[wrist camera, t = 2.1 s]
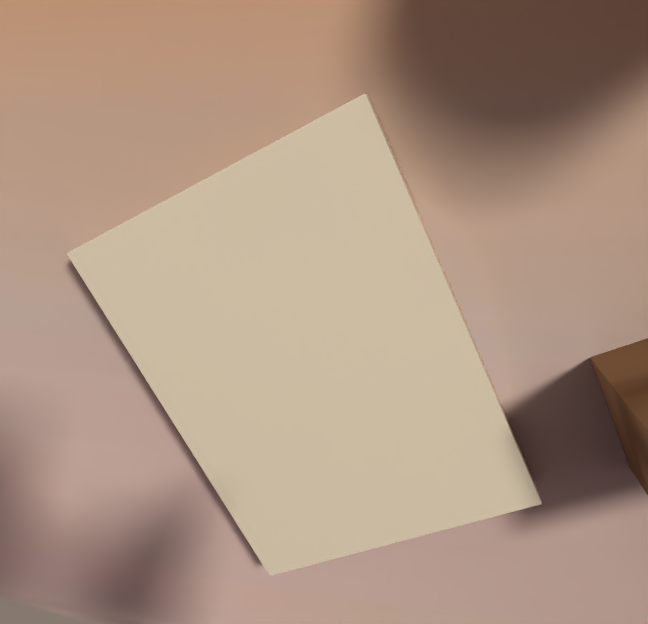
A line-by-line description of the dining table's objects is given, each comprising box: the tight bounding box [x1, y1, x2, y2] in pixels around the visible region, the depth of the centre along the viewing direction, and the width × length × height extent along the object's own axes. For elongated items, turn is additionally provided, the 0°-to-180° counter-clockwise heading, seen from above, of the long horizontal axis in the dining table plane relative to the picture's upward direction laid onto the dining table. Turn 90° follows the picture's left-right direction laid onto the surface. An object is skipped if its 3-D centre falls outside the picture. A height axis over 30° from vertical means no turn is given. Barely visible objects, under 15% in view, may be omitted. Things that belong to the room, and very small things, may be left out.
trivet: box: [66, 93, 542, 576], centre depth 20 cm, size 16×12×1 cm
